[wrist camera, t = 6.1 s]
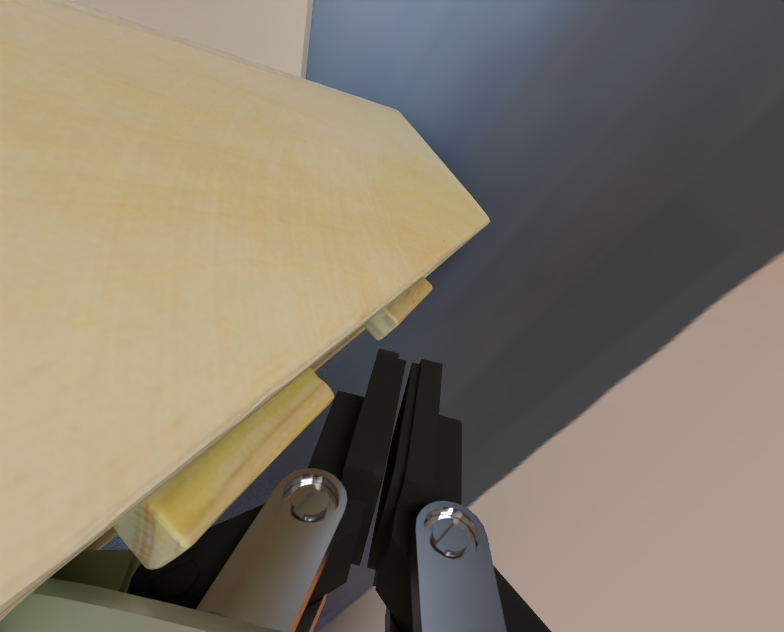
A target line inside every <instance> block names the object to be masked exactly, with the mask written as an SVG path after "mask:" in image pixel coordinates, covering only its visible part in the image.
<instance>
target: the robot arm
mask: <svg viewBox="0 0 784 632" xmlns="http://www.w3.org/2000/svg"><path fill="white" fill-rule="evenodd" d="M398 357H399V353H395V352H391V351H386V350H382V349H379V351H378V354H377V357H376V361H375V364H374V368H373V371H372V374H371V378H370V381H369V384H368V388H367V391H366V395H365V397H362V396H358V395H353V394H349V393H345V392H341V391H338V392H337V394H336V396H335V398H334V401H333V404H332V406H331V409H330V412H329V414H328V417H327V419H326V422H325V425H324V427H323V430H322V432H321V435H320V438H319V440H318V443H317V446H316V448H315V451H314V453H313V456H312V459H311V461H310V464H309V466H308V468H304V469H300V470H296V471H293V472H291V473H290V474H288V475H286V476H285V477H284V478H283V479H282V480H281V481H280V482H279V483H278V484H277V486H276V487H275V489H274V490H273V492H272V493H271V495H270V496H269V498H268V500H267V501H266V503H265V504H263V505H261V506H259V507H256V508H254V509H252V510H249V511H247V512H245V513H242V514H240V515H238V516H236V517H233V518H231V519H229V520H226V521H224V522H222V523H219V524H217V525H215V526H213V527H210V528H209V529H208V530H207V531H206V532H205V533H204V534H203V535H202V536H201V537H200V538H199V539H198V540H197V541H196V542H195V544H194V545H192V546H191V547H190V548H188V549H187V550H186V551H184V552H183V553H182V554H180V555H179V556H178V557H176V558H175V559H173V560H172V561H170V562H169V563H167V564H166V565H164V566H163V567H161V568H158V569H153V570H151V569H147V568H145V567H144V565H143V564H142V563H141V562H140V560H139V559H138V558H137V557H136V556H135V554H134V553H133V552H132V551H131V550H83V551H82V552H81V553H79V554H78V555H77V556H76V557H74V558H73V559H72V560H71V561H69V562H68V563H67V564H66V565H64V566H63V567H62V568H61V569H59V570H58V571H57V572H56V573H54V574H53V575H52V576H51V577H49V578H48V579H47V580H46V581H45V582H44V583H42V584H41V585H40V586H39V587H38V588H37V589H35V590H34V591H33V592H32V593H31V594H30V595H28V596H27V597H26V598H25V599H24V600H23V601H21V602H20V603H19V604H18V605H17V606H16V607H14V608H13V609H12V610H11V611H10V612H9V613H8V614H7V615H6V616H5V617H4V618H3V619H2V620H1V621H0V632H312V631H313V629H314V626H315V624H316V622H317V619H318V617H319V614H320V612H321V610H322V607H323V605H324V602H325V599H326V595H327V594H328V593H329V592H331V591H333V590H334V589H336V588H338V587H339V586H341V585H342V584H344V583H346V581H347V577H348V573H349V569H350V565H351V564H355V565H359V566H360V562H361V559H362V555H363V551H364V547H365V544H366V540H367V536H368V532H369V529H370V525H371V521H372V518H373V514H374V510H375V506H376V503H377V499H378V495H379V491H380V488H381V484H382V480H383V476H384V471H385V467H386V471H385V476H384V481H383V486H382V492H381V497H380V502H379V507H378V512H377V518H376V523H375V528H374V533H373V538H372V544H371V549H370V554H369V559H368V565H367V568H371V569H375V570H376V572H375V577H374V583H373V586H376V591H377V593H378V594H379V596H380V597H381V599H382V600H383V602H384V603H385V605H386V606H387V607H386V614H385V632H551V631H550V630H549V629H548V627H547V626H546V625H545V624H544V623H543V622H542V621H541V619H540V618H539V617H538V616H537V615H536V614H535V613H534V611H533V610H532V609H531V608H530V607H529V606H528V605H527V603H526V602H525V601H524V600H523V599H522V598H521V597H520V595H518V593H517V592H516V591H515V590H514V589H513V587H512V586H511V585H510V584H509V583H508V582H507V580H506V579H505V578H504V577H503V576H502V575H501V574H500V573H499V571H498V570H497V569H496V568H495V567H494V566H493V562H492V557H491V552H490V548H489V543H488V538H487V535H486V532H485V529H484V526H483V525H482V523H481V522H480V520H479V519H478V517H477V516H476V515H474V514H473V513H472V512H471V511H470V510H469V509H467V508H465V507H464V506H462V505H461V475H462V422H461V421H460V420H456V419H452V418H448V417H444V416H440V415H439V404H440V391H441V377H442V364H440V363H436V362H432V361H428V360H424V359H422V360H421V362H420V364H417V363H412V366H411V369H410V373H409V377H408V381H407V384H406V388H405V392H404V396H403V399H402V403H401V407H400V411H399V414H398V418H397V422H396V426H395V430H394V433H393V437H392V441H391V436H392V431H393V426H394V421H395V415H396V410H397V405H398V400H399V395H400V390H401V385H402V379H403V374H404V369H405V364H406V361H404V360H400V359H398ZM390 441H391V445H390ZM389 446H390V450H389ZM388 452H389V455H388ZM387 457H388V460H387ZM386 462H387V466H386Z"/></svg>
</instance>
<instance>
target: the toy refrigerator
mask: <svg viewBox="0 0 784 632" xmlns="http://www.w3.org/2000/svg"><path fill="white" fill-rule="evenodd" d="M489 222H490V220H489V218H488V216H487V215H486V213H485V212H484V211H483V210H482V208H481V207H480V206H479V205H478V203H477V202H476V201H475V200H474V199H473V197H472V196H471V195H470V194H469V192H468V191H467V190H466V189H465V188H464V187H463V185H462V184H461V183H460V182H459V181H458V180H457V178H456V177H455V176H454V175H453V174H452V173H451V171H450V170H449V169H448V168H447V167H446V165H445V164H444V163H443V162H442V161H441V160H440V158H439V157H438V156H437V155H436V154H435V152H434V151H433V150H432V149H431V148H430V147H429V145H428V144H427V143H426V142H425V141H424V140H423V138H422V137H421V136H420V135H419V134H418V132H417V131H416V130H415V129H414V128H413V127H412V125H411V124H410V123H409V122H408V121H407V120H406V119H405V118H404V117H403V115H402V114H401V113H400V112H399V111H398V110H396V109H393V108H390V107H387V106H384V105H382V104H378V103H375V102H372V101H369V100H366V99H364V98H361V97H358V96H355V95H351V94H348V93H345V92H342V91H339V90H336V89H334V88H331V87H327V86H324V85H322V84H319V83H316V82H312V81H309V80H306V79H303V78H301V77H298V76H295V75H292V74H289V73H286V72H283V71H279V70H276V69H273V68H270V67H267V66H264V65H261V64H258V63H255V62H252V61H249V60H246V59H243V58H240V57H237V56H234V55H232V54H229V53H227V52H223V51H220V50H217V49H213V48H210V47H207V46H204V45H201V44H198V43H195V42H192V41H189V40H186V39H183V38H180V37H177V36H174V35H171V34H168V33H165V32H162V31H159V30H156V29H153V28H150V27H147V26H144V25H141V24H138V23H136V22H133V21H130V20H127V19H124V18H121V17H118V16H115V15H113V14H110V13H107V12H104V11H101V10H99V9H95V8H92V7H89V6H86V5H83V4H80V3H77V2H74V1H71V0H0V621H1V620H2V619H3V618H4V617H5V616H6V615H7V614H8V613H9V612H10V611H11V610H12V609H13V608H14V607H16V606H17V605H18V604H19V603H20V602H21V601H23V600H24V599H25V598H26V597H27V596H28V595H30V594H31V593H32V592H33V591H34V590H35V589H37V588H38V587H39V586H40V585H41V584H42V583H44V582H45V581H46V580H47V579H48V578H49V577H51V576H52V575H53V574H54V573H56V572H57V571H58V570H59V569H61V568H62V567H63V566H64V565H66V564H67V563H68V562H69V561H71V560H72V559H73V558H74V557H76V556H77V555H78V554H79V553H81V552H82V551H83V550H99V549H101V548H102V547H103V546H104V545H105V544H107V543H108V542H109V541H110V540H111V539H113V538H114V537H115V536H116V535H117V534H118V535H119V536H120V537H121V539H122V540H123V541H124V542H125V543H126V545H127V546H128V547H129V548H130V549H131V551H132V552H133V553H134V554H135V555H136V557H137V558H138V559H139V560H140V562H141V563H142V564H143V565H144V567H145V568H147V569H151V570H153V569H158V568H161V567H163V566H164V565H166V564H167V563H169V562H170V561H172V560H173V559H175V558H176V557H178V556H179V555H180V554H182V553H183V552H184V551H186V550H187V549H188V548H190V547H191V546H192V545H194V544H195V542H196V541H197V540H198V539H199V538H200V537H201V536H202V535H203V534H204V533H205V532H206V531H207V530H208V529H209V528H210V527H211V525H212V524H213V523H214V522H215V521H216V520H217V519H218V518H219V517H220V516H221V515H222V514H223V513H224V512H225V511H226V510H227V508H228V507H229V506H230V505H231V504H232V503H233V502H234V501H235V500H236V499H237V498H238V497H239V496H240V495H241V494H242V493H243V492H244V491H245V490H246V489H247V488H248V487H249V486H250V485H251V484H252V482H253V481H254V480H255V479H256V478H257V477H258V476H259V475H260V474H261V473H262V472H263V471H264V470H265V469H266V468H267V467H268V466H269V465H270V464H271V463H272V462H273V461H274V460H275V459H276V458H277V457H278V455H279V454H280V453H281V452H282V451H283V450H284V449H285V448H286V447H287V446H288V445H289V444H290V443H291V442H292V441H293V440H294V439H295V438H296V437H297V436H298V435H299V434H300V433H301V432H302V431H303V430H304V429H305V428H306V427H307V426H308V425H309V424H310V423H311V422H312V421H313V420H314V419H315V418H316V417H317V416H318V415H319V414H320V413H321V412H322V411H323V410H324V409H325V408H326V407H327V406H328V405H329V404H330V402H331V401H332V400H333V398H334V394H333V392H332V390H331V389H330V388H329V386H328V385H327V384H326V383H325V382H324V381H322V380H321V379H320V378H318V377H317V375H316V374H315V371H316V370H317V369H318V368H319V367H321V366H322V365H323V364H324V363H325V362H327V361H328V360H329V359H330V358H331V357H333V356H334V355H335V354H336V353H337V352H339V351H340V350H341V349H342V348H343V347H345V346H346V345H347V344H348V343H349V342H351V341H352V340H353V339H354V338H355V337H356V336H358V335H359V334H360V333H361V332H362V331H364V330H365V329H367V330H368V332H369V333H370V334H371V335H372V336H373V337H374V338H375V339H376V340H381V339H382V338H384V337H385V336H386V335H387V334H388V333H390V332H391V331H392V330H393V329H394V328H395V327H397V326H398V325H399V324H400V323H401V322H402V321H403V320H404V319H405V317H406V316H407V315H408V314H409V313H410V312H411V311H412V310H413V309H414V308H415V307H416V306H417V305H418V304H419V303H420V302H421V301H422V300H423V299H424V298H425V297H426V296H427V295H428V294H429V293H430V292H431V290H432V285H431V284H430V283H429V282H428V281H427V280H426V279H425V278H426V277H427V276H428V275H429V274H430V273H431V272H433V271H434V270H435V269H436V268H437V267H438V266H440V265H441V264H442V263H443V262H444V261H445V260H447V259H448V258H449V257H450V256H451V255H452V254H453V253H455V252H456V251H457V250H458V249H459V248H461V247H462V246H463V245H464V244H465V243H466V242H468V241H469V240H470V239H471V238H472V237H473V236H475V235H476V234H477V233H478V232H479V231H480V230H482V229H483V228H484V227H485V226H486V225H488V224H489Z"/></svg>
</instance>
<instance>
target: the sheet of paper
mask: <svg viewBox="0 0 784 632" xmlns="http://www.w3.org/2000/svg"><path fill="white" fill-rule="evenodd" d="M71 1H74V2H77V3H80V4H83V5H86V6H89V7H92V8H95V9H99V10H101V11H104V12H107V13H110V14H113V15H115V16H118V17H121V18H124V19H127V20H130V21H133V22H136V23H138V24H141V25H144V26H147V27H150V28H153V29H156V30H159V31H162V32H165V33H168V34H171V35H174V36H177V37H180V38H183V39H186V40H189V41H192V42H195V43H198V44H201V45H204V46H207V47H210V48H213V49H217V50H220V51H223V52H227V53H229V54H232V55H234V56H237V57H240V58H243V59H246V60H249V61H252V62H255V63H258V64H261V65H264V66H267V67H270V68H273V69H276V70H279V71H283V72H286V73H289V74H292V75H295V76H298V77H301V78H303V79H306V72H307V62H308V52H309V42H310V31H311V21H312V11H313V1H314V0H71Z"/></svg>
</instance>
